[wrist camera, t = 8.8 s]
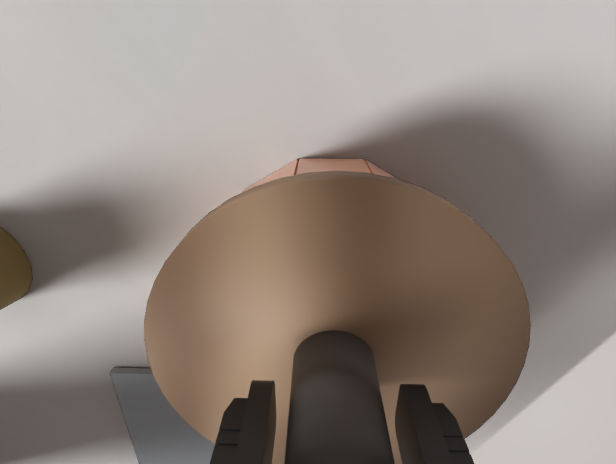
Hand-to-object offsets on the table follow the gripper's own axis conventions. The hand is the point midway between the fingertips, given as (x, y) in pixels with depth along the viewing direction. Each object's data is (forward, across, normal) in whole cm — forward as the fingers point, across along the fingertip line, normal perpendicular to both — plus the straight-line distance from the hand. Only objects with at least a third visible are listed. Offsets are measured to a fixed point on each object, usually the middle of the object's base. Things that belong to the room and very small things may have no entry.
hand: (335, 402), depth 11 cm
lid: (+3, 0, 0) cm, 3 cm away
